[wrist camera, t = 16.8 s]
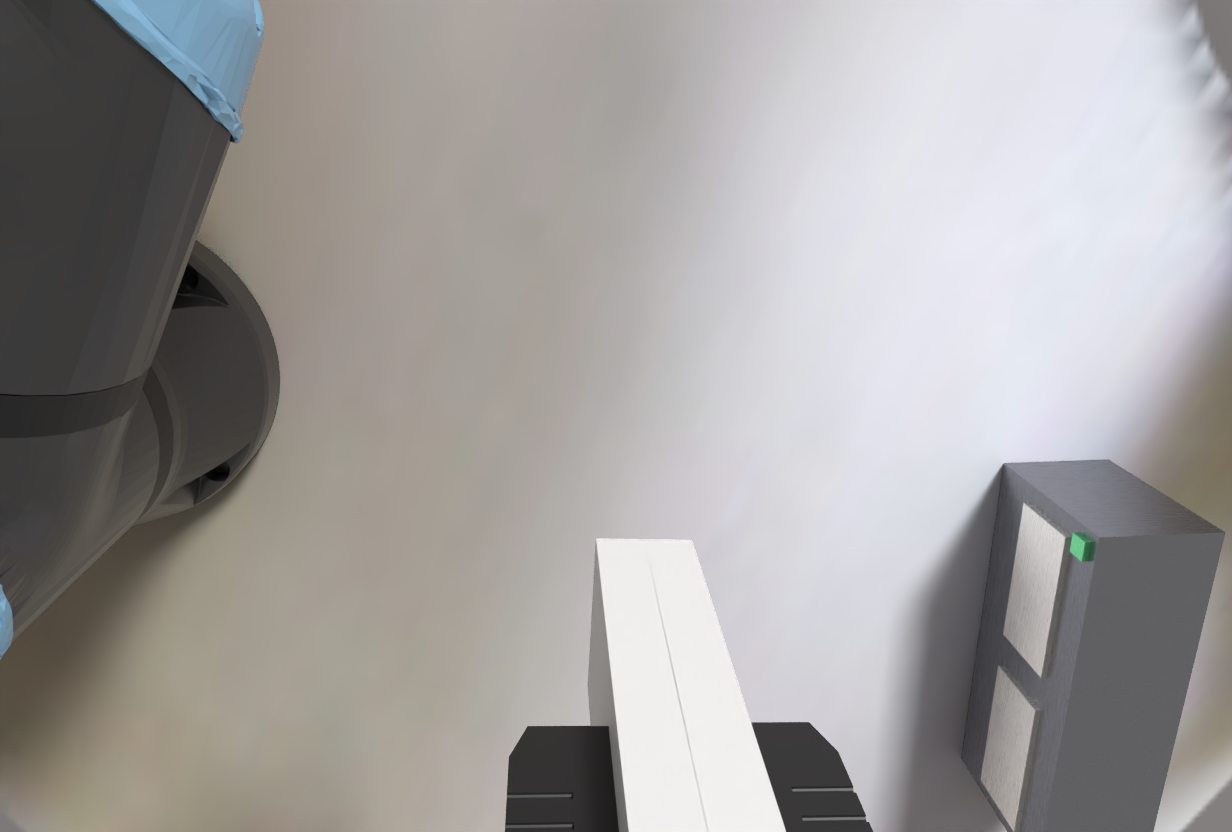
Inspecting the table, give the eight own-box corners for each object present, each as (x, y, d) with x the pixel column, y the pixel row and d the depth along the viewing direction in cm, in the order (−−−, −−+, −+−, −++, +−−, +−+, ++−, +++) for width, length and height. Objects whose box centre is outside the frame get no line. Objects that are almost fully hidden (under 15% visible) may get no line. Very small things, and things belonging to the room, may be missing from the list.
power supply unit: (956, 758, 55) (1030, 876, 46) (998, 463, 48) (1093, 537, 40) (1053, 753, 55) (1144, 869, 47) (1108, 459, 49) (1225, 532, 40)
